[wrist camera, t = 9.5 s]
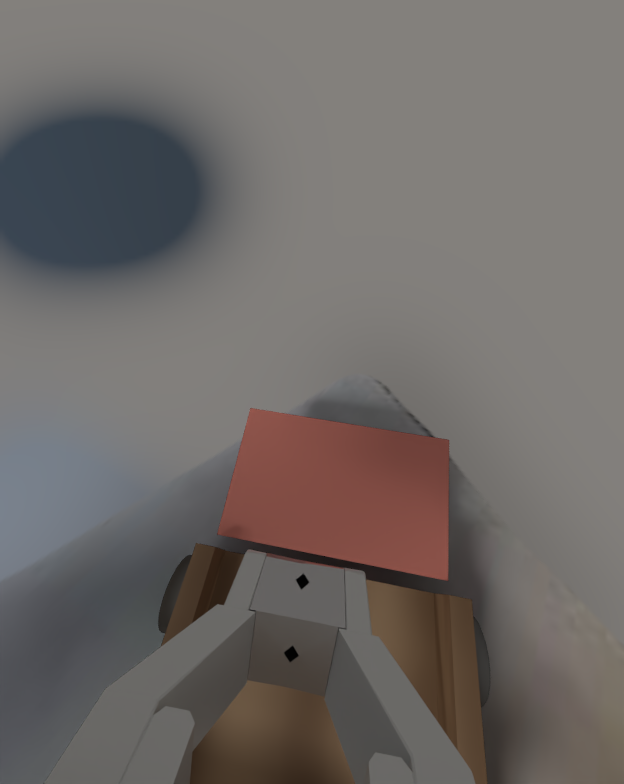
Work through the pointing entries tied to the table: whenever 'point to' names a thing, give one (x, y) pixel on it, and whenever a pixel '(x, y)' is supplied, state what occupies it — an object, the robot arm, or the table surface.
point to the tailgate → (342, 492)
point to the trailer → (309, 711)
